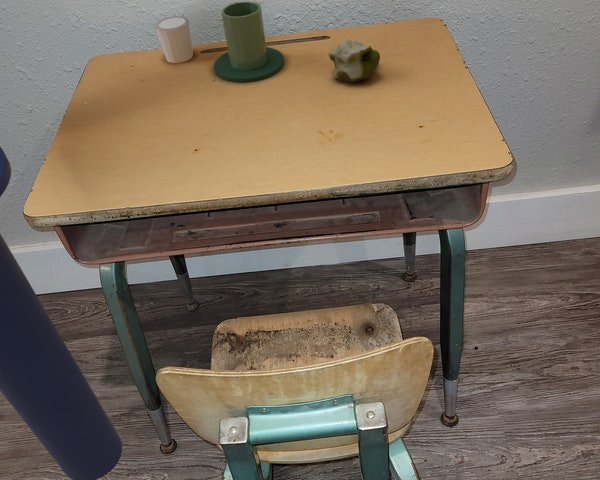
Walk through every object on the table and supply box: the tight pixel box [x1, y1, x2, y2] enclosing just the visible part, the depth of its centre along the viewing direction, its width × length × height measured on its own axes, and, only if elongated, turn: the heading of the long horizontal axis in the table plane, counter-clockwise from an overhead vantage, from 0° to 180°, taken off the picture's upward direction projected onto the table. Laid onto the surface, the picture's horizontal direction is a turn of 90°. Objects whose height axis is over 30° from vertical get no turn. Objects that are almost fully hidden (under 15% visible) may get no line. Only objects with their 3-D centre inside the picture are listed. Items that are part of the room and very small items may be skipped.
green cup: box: [220, 1, 267, 70], centre depth 115 cm, size 7×7×10 cm
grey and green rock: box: [328, 39, 381, 84], centre depth 110 cm, size 9×9×8 cm
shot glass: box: [154, 15, 194, 64], centre depth 122 cm, size 7×7×7 cm
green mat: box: [213, 46, 285, 83], centre depth 119 cm, size 14×14×1 cm
